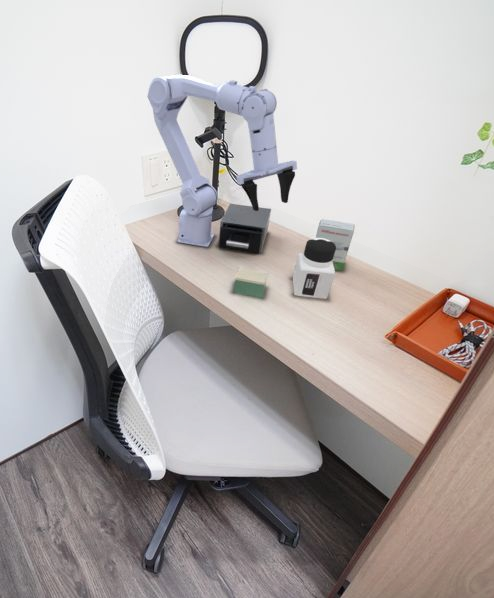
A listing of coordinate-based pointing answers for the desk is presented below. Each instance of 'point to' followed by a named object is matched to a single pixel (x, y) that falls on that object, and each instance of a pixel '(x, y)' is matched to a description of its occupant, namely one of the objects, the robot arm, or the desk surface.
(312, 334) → the desk surface
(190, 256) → the desk surface
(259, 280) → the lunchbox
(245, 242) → the drawer
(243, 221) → the small drawer cabinet
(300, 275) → the container
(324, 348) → the desk surface
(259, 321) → the desk surface
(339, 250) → the ink box
